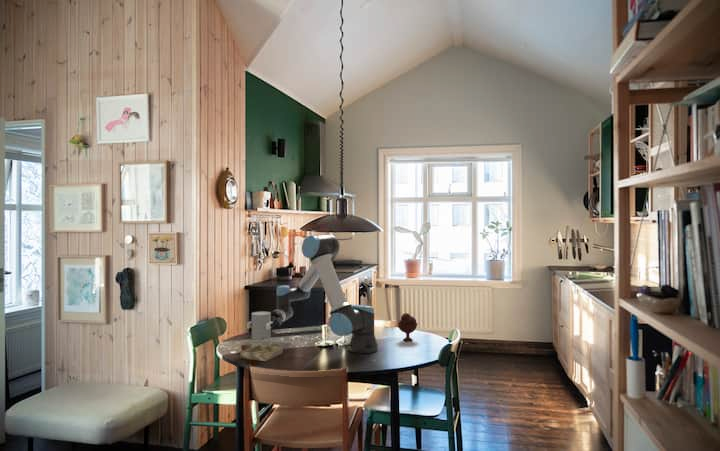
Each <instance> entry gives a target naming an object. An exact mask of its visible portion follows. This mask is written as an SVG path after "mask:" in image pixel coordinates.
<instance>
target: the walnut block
mask: <svg viewBox="0 0 720 451" xmlns="http://www.w3.org/2000/svg"><path fill="white" fill-rule="evenodd" d="M251 347H252V343H251V342H250V343H249V342H248V343H246V342H244V343H242V344H241V346H240V348H241V350H240V352H241V351H244V350H246V349H249V348H251Z"/></svg>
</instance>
